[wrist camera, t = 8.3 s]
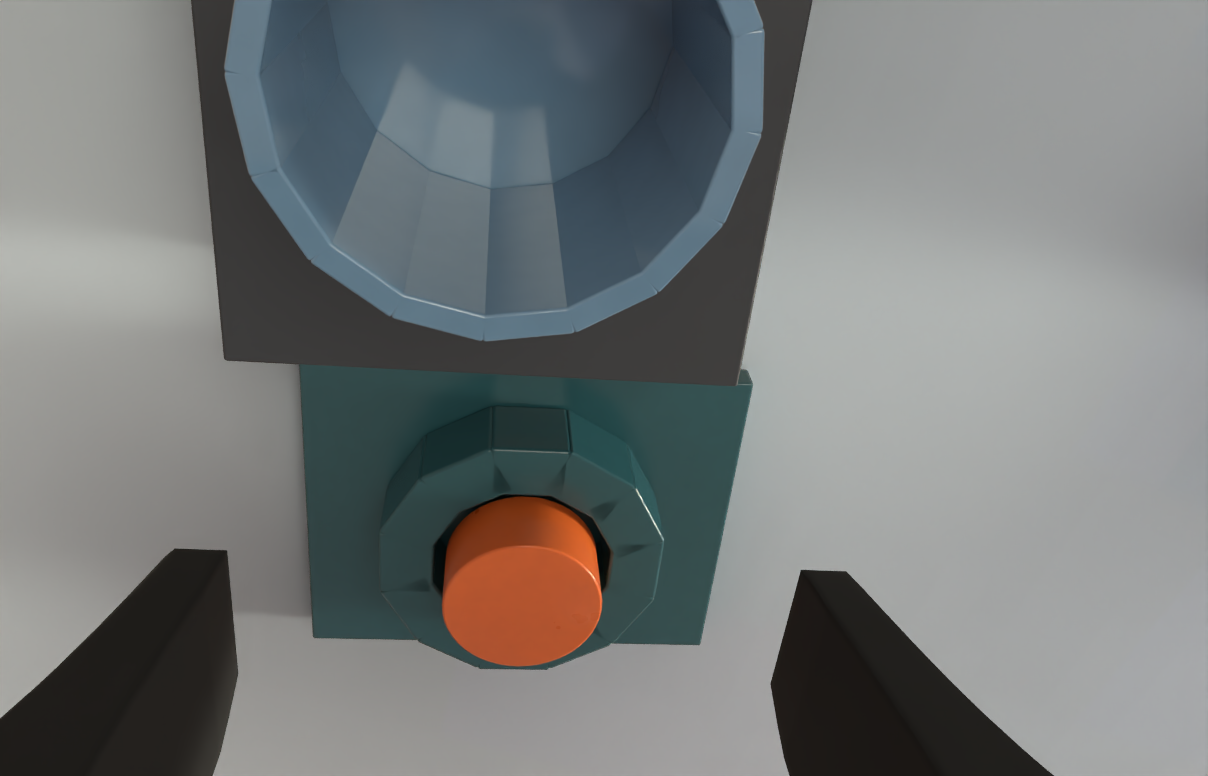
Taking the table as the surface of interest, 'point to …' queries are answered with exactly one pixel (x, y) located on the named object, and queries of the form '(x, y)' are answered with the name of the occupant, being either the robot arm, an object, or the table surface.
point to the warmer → (375, 340)
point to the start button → (521, 582)
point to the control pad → (513, 492)
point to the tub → (498, 147)
